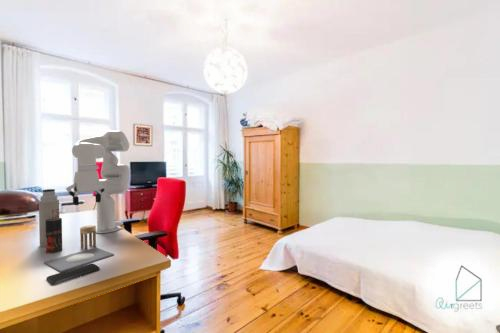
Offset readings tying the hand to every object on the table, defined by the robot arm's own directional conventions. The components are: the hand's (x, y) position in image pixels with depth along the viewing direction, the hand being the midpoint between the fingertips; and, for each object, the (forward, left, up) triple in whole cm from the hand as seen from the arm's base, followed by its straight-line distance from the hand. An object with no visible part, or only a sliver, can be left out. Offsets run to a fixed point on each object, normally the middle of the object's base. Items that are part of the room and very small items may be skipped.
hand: (87, 203), depth 119 cm
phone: (+17, +27, -22) cm, 39 cm away
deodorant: (+11, -8, -22) cm, 26 cm away
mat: (+9, +13, -22) cm, 27 cm away
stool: (0, 0, -22) cm, 22 cm away
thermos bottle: (+8, -22, -22) cm, 32 cm away
